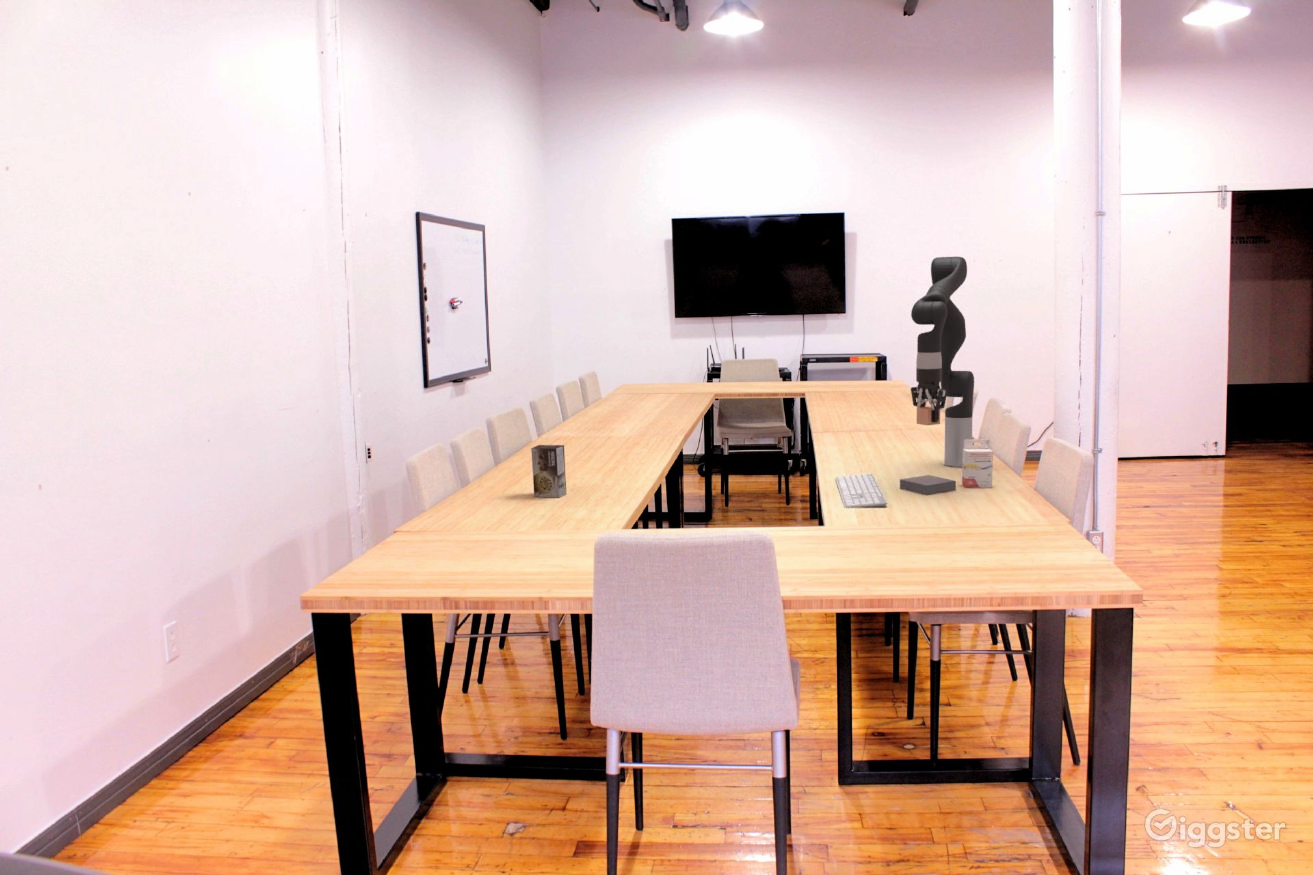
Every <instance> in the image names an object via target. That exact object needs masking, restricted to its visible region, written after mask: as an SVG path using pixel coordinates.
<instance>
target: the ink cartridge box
mask: <svg viewBox="0 0 1313 875" xmlns="http://www.w3.org/2000/svg"><path fill="white" fill-rule="evenodd" d="M972 443H974V445H972ZM976 443H978V444H976ZM990 444H991V441H990V439H987V438H985V439H983V438H981V439H977V438H974V439H972V440H966V439H965V440H964V449H963V464H962V467H961V468H962V471H961V472H962V474H961V485H962V486H963V487H964V488H993V471H994V470H993V469H994V468H993V467H994V463H993V461H994V451H993V450H992V449H990Z"/></svg>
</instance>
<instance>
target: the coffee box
mask: <svg viewBox="0 0 1313 875" xmlns="http://www.w3.org/2000/svg"><path fill="white" fill-rule="evenodd" d="M530 449H531V450H530V451H531V463H532V464H531V465H532V480H533V482H532V484H533V497H534V498H561V497H563V496H565V495H567V476H566V463H565V462H566V458H565V445H564V444H563V445H561V444H538V445H535V446H534V447H532V448H530Z"/></svg>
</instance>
